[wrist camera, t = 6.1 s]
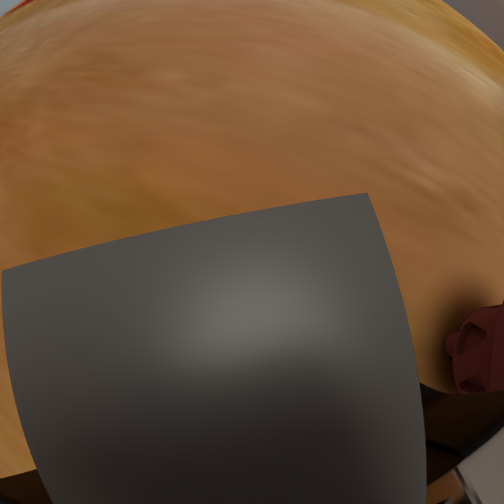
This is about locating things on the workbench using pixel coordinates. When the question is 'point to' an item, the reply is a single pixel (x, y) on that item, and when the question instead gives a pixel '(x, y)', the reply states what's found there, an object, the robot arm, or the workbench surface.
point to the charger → (221, 364)
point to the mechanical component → (479, 351)
